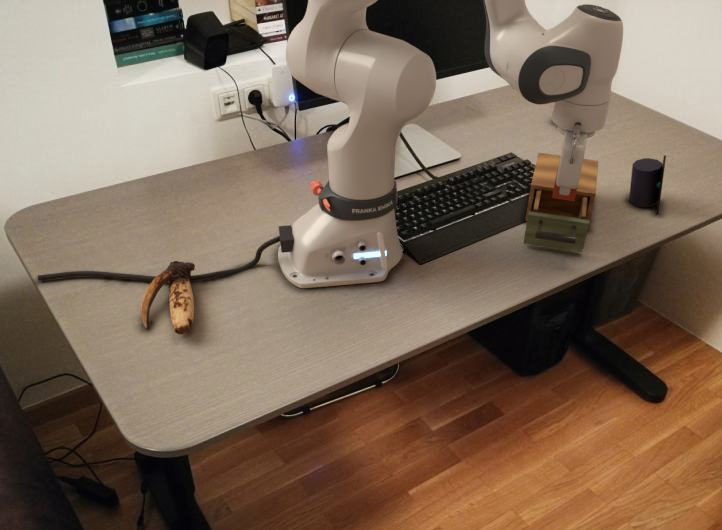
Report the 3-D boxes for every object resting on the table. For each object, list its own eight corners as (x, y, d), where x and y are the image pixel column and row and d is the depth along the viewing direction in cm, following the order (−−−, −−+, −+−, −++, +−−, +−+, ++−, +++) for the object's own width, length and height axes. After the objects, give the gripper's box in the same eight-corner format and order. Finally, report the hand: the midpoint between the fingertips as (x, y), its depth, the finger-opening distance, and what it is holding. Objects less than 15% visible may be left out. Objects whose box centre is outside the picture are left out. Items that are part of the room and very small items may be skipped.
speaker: (670, 203, 141) (678, 156, 134) (657, 215, 138) (666, 168, 131) (635, 193, 145) (642, 147, 138) (622, 205, 142) (629, 159, 135)
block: (574, 201, 122) (578, 181, 120) (552, 198, 123) (555, 178, 120) (575, 190, 125) (580, 170, 122) (554, 187, 126) (557, 167, 123)
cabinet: (587, 230, 133) (595, 193, 128) (525, 221, 135) (531, 184, 129) (590, 196, 143) (598, 160, 137) (532, 187, 145) (538, 152, 139)
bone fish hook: (143, 282, 118) (142, 349, 105) (135, 259, 115) (134, 325, 102) (198, 273, 120) (204, 337, 107) (192, 250, 116) (198, 314, 103)
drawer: (580, 268, 122) (587, 238, 118) (520, 258, 124) (524, 229, 119) (585, 217, 135) (592, 189, 130) (530, 209, 136) (535, 181, 132)
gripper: (596, 141, 106) (579, 218, 115) (601, 90, 120) (586, 162, 130) (555, 136, 107) (542, 213, 116) (565, 86, 121) (552, 157, 131)
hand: (565, 185), depth 123 cm, fingers closed on block, 4 cm apart
